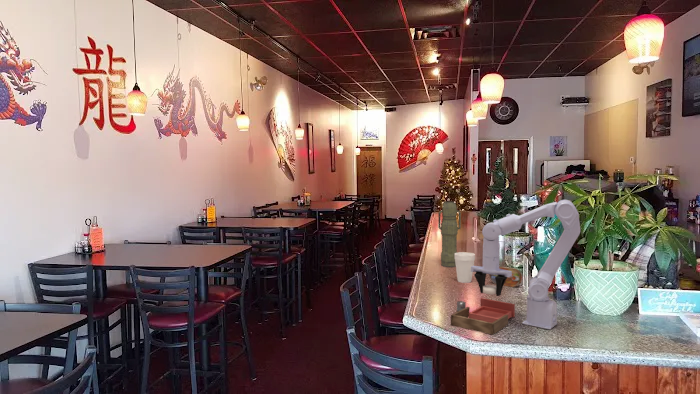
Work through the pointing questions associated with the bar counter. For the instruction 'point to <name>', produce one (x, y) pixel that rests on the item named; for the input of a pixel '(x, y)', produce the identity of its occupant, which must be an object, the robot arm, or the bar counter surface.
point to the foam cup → (464, 266)
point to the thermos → (449, 233)
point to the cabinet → (477, 322)
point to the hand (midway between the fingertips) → (490, 294)
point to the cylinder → (461, 305)
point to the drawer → (492, 310)
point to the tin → (510, 281)
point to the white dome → (489, 289)
